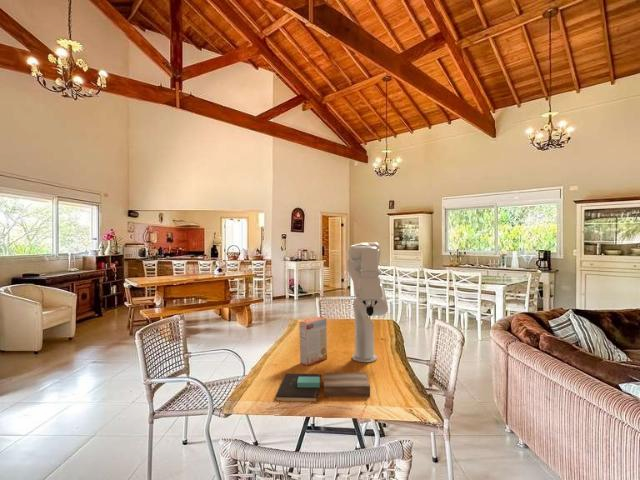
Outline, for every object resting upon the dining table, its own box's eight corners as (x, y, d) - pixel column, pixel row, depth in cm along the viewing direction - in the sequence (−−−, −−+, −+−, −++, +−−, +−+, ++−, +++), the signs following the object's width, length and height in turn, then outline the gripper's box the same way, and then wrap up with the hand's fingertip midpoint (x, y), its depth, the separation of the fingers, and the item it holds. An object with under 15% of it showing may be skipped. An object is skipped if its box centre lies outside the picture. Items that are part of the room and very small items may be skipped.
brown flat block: (323, 382, 152) (323, 372, 152) (365, 381, 152) (365, 372, 151) (324, 396, 138) (323, 386, 138) (370, 396, 138) (370, 386, 137)
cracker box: (319, 356, 185) (319, 316, 185) (327, 359, 180) (327, 318, 180) (299, 363, 175) (298, 321, 175) (307, 366, 171) (307, 323, 170)
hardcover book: (275, 402, 135) (275, 396, 135) (285, 378, 158) (285, 373, 158) (317, 403, 134) (317, 397, 134) (321, 379, 157) (321, 373, 157)
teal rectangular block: (298, 381, 149) (298, 376, 149) (320, 381, 148) (319, 376, 148) (297, 387, 143) (297, 382, 143) (319, 387, 142) (319, 382, 142)
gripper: (384, 273, 162) (385, 313, 162) (352, 273, 162) (352, 313, 162) (387, 275, 154) (388, 317, 155) (353, 275, 154) (354, 317, 155)
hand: (369, 315), depth 158 cm, fingers closed
